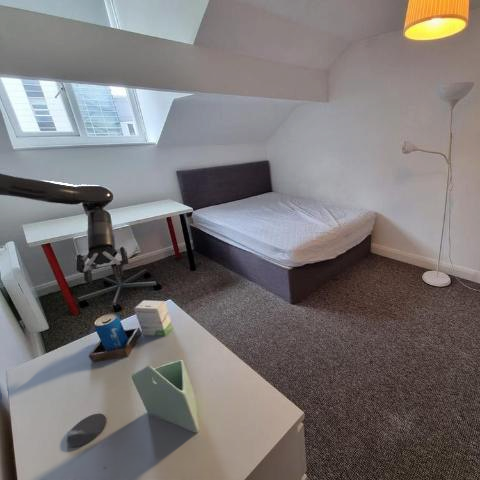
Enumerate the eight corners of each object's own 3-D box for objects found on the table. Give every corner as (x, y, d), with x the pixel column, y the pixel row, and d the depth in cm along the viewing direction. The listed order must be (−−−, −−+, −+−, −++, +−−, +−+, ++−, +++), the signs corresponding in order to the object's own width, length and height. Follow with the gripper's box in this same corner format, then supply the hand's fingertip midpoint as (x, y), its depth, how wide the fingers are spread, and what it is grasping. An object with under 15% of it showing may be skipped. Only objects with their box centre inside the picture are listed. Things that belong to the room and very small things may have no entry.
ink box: (142, 335, 96) (132, 309, 91) (152, 325, 100) (142, 299, 95) (165, 336, 95) (156, 309, 90) (174, 326, 100) (165, 300, 95)
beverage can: (110, 357, 87) (96, 329, 82) (103, 348, 90) (90, 321, 86) (132, 345, 91) (120, 317, 87) (125, 337, 95) (113, 310, 90)
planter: (218, 403, 71) (202, 348, 63) (197, 433, 65) (176, 376, 56) (171, 386, 77) (151, 333, 68) (147, 413, 70) (121, 358, 62)
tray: (91, 362, 85) (88, 355, 84) (109, 338, 95) (106, 331, 94) (128, 356, 87) (125, 349, 86) (141, 333, 97) (139, 327, 95)
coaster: (60, 450, 62) (59, 449, 62) (80, 418, 69) (79, 416, 69) (96, 443, 63) (95, 441, 63) (112, 412, 70) (111, 410, 70)
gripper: (70, 237, 91) (73, 282, 86) (120, 229, 96) (124, 271, 91) (82, 245, 98) (84, 287, 93) (127, 237, 103) (132, 277, 98)
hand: (104, 279), depth 92 cm, fingers open, 8 cm apart
